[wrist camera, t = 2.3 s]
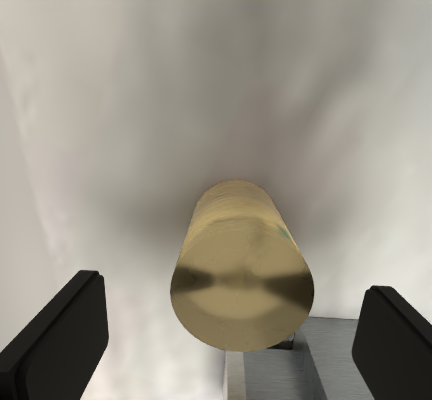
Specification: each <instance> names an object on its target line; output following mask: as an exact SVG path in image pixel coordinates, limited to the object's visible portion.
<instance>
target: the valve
mask: <svg viewBox="0 0 432 400" xmlns="http://www.w3.org/2000/svg"><path fill="white" fill-rule="evenodd" d="M358 321H359V320H348V319H332V318H316V317H307V318H306V320H305V321H304V323H303V324H302V325H301V327H300V328H299V329H298V330H297V331H296V332H295V336H294V342H293V348H292V350H281V349H262V350H256V351H248V352H236V351H227V350H226V353H225V366H224V380H223V400H375V399H374V398H373V396H372V394H371V392H370V390H369V389H368V387H367V385H366V383H365V381H364V379H363V378H362V376H361V374H360V372H359V370H358V369H357V367H356V365H355V363H354V361H353V358H352V352H351V351H352V346H353V342H354V337H355V333H356V329H357V325H358Z"/></svg>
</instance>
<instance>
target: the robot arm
mask: <svg viewBox="0 0 432 400" xmlns="http://www.w3.org/2000/svg"><path fill="white" fill-rule="evenodd" d="M108 340H109V333H108V321H107V309H106V297H105V285H104V277H103V276H102V275H99V272H98V271H89V270H80V271H79V272H78V273H77V274H76V275H75V276H74V277H73V278H72V279H71V280H70V281H69V282H68V283H67V284H66V285H65V286H64V287H63V288H62V289H61V290H60V291H59V292H58V293H57V294H56V295H55V297H54V298H53V299H52V300H51V301H50V302H49V303H48V304H47V305H46V306H45V307H44V308H43V309H42V310H41V311H40V312H39V313H38V314H37V315H36V316H35V317H34V318H33V319H32V320H31V322H29V324H28V325H27V326H26V327H25V328H24V329H23V330H22V331H21V332H20V333H19V334H18V335H17V336H16V337H15V338H14V339H13V340H12V341H11V342H10V343H9V344H8V345H7V346H6V347H5V348H4V349H3V350H2V352H1V353H0V400H80V398H81V396H82V394H83V392H84V390H85V388H86V387H87V385H88V383H89V381H90V379H91V377H92V375H93V373H94V371H95V369H96V367H97V365H98V363H99V361H100V359H101V357H102V355H103V353H104V351H105V350H106V347H107V344H108ZM351 352H352V358H353V361H354V363H355V365H356V367H357V369H358V370H359V372H360V374H361V376H362V378H363V379H364V381H365V383H366V385H367V387H368V389H369V390H370V392H371V394H372V396H373V398H374V399H375V400H432V325H431V324H430V323H429V322H428V321H427V320H426V319H425V318H424V317H423V316H422V315H421V314H420V313H419V312H417V311H416V310H415V309H414V308H413V307H412V306H411V305H410V304H409V303H408V302H407V301H406V300H405V299H404V298H403V297H402V296H401V295H400V294H399V293H398V292H397V291H396V290H395V289H394V288H392V287H390V286H375V285H374V286H371V288H370V289H368V290H366V292H365V295H364V300H363V304H362V308H361V312H360V316H359V321H358V325H357V329H356V333H355V337H354V342H353V346H352V351H351Z"/></svg>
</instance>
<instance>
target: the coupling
mask: <svg viewBox="0 0 432 400" xmlns="http://www.w3.org/2000/svg"><path fill="white" fill-rule="evenodd" d="M170 294H171V302H172V306H173V309H174V311H175V314H176V316H177V318H178V319H179V321H180V322H181V324H182V325H183V326H184V327H185V329H187V330H188V331H189V332H190V333H191V334H192V335H193V336H194V337H196V338H197V339H199V340H200V341H202V342H204V343H206V344H208V345H210V346H213V347H216V348H219V349H223V350H227V351H236V352H248V351H256V350H262V349H265V348H268V347H271V346H274V345H276V344H278V343H280V342H282V341H284V340H286V339H287V338H288V337H290V336H291V335H293V334H294V333H295V332H296V331H297V330H298V329H299V328H300V327H301V325H302V324H303V323H304V321H305V320H306V318H307V317H308V315H309V312H310V310H311V308H312V304H313V299H314V283H313V278H312V275H311V272H310V270H309V268H308V266H307V264H306V262H305V260H304V258H303V256H302V255H301V253H300V251H299V249H298V247H297V245H296V243H295V242H294V240H293V238H292V236H291V234H290V232H289V231H288V229H287V227H286V225H285V223H284V221H283V219H282V218H281V216H280V214H279V212H278V210H277V208H276V206H275V205H274V203H273V201H272V199H271V198H270V196H269V195H268V194H267V193H266V192H265V191H264V190H263V189H262V188H260V187H259V186H257V185H255V184H253V183H251V182H248V181H244V180H227V181H223V182H220V183H218V184H215V185H214V186H212V187H210V188H209V189H208V190H207V191H206V192H205V193H204V194H203V195H202V196H201V197H200V199H199V200H198V202H197V204H196V207H195V210H194V213H193V216H192V219H191V222H190V225H189V228H188V231H187V234H186V237H185V240H184V243H183V246H182V249H181V252H180V255H179V258H178V261H177V264H176V267H175V271H174V274H173V277H172V281H171V289H170Z"/></svg>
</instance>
